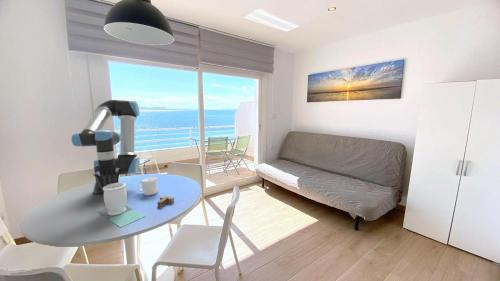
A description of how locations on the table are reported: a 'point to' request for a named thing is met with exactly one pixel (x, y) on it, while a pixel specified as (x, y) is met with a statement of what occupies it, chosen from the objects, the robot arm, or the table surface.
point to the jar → (115, 198)
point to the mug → (149, 186)
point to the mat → (123, 216)
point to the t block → (165, 200)
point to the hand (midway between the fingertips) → (110, 199)
